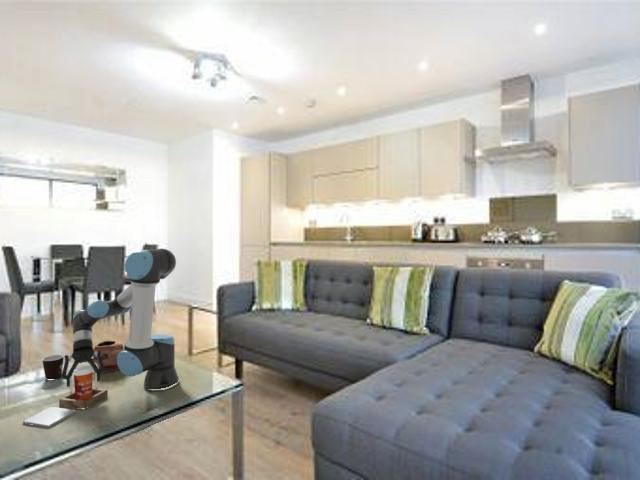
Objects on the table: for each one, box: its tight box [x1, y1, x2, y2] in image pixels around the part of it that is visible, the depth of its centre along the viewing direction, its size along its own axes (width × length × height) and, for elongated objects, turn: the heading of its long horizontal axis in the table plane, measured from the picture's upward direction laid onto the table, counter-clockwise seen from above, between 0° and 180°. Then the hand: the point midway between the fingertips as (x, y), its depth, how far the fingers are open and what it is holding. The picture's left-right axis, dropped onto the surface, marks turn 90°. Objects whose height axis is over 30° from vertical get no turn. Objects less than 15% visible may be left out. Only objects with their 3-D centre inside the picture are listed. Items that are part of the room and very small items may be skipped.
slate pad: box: [22, 406, 77, 429], centre depth 152 cm, size 12×12×1 cm
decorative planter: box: [92, 340, 124, 373], centre depth 202 cm, size 20×12×14 cm, turn 106°
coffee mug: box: [41, 354, 65, 380], centre depth 192 cm, size 12×9×10 cm
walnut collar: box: [58, 387, 108, 410], centre depth 167 cm, size 12×12×3 cm
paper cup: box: [72, 365, 95, 401], centre depth 166 cm, size 8×8×14 cm
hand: (83, 390), depth 163 cm, fingers open, 8 cm apart
